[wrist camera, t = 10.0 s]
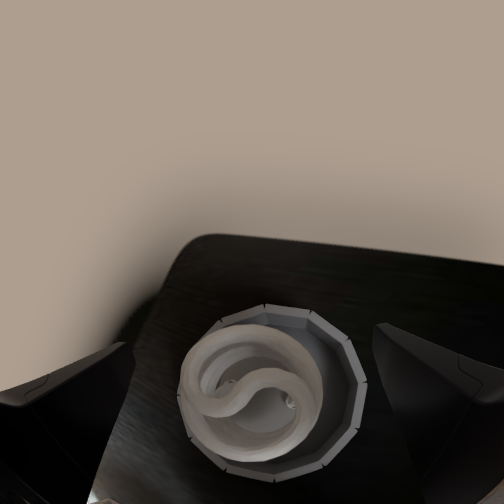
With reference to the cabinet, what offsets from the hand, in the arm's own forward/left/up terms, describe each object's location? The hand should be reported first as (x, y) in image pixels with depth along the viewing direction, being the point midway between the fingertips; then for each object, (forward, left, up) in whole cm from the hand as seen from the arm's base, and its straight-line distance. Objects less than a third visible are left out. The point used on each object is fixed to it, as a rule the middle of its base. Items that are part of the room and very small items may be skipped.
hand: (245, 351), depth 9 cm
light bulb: (-1, -1, -12) cm, 12 cm away
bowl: (-1, -1, -12) cm, 12 cm away
